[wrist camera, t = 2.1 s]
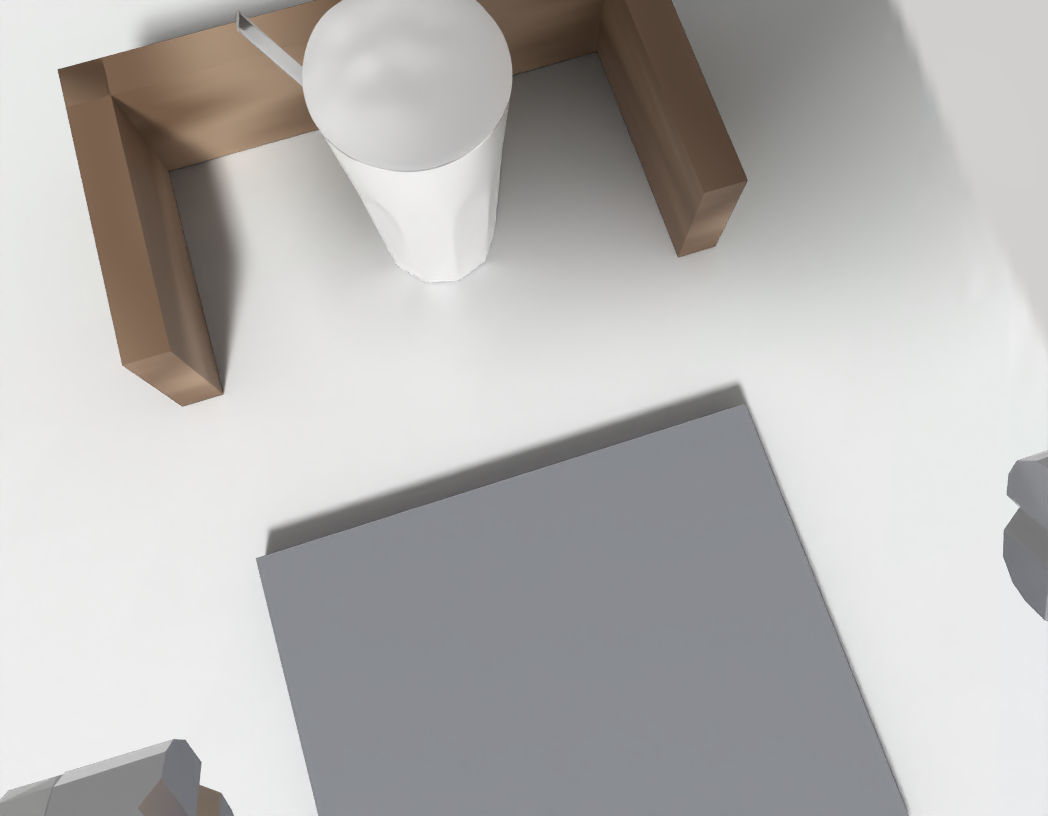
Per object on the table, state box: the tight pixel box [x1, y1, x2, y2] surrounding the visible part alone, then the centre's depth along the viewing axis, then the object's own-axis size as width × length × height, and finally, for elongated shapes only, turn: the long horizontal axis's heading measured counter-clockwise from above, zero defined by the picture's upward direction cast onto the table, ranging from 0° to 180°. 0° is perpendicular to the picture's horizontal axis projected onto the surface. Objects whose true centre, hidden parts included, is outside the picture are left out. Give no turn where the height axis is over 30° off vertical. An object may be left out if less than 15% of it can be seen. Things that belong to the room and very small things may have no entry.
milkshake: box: [236, 0, 512, 283], centre depth 22 cm, size 5×5×10 cm
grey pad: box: [256, 404, 908, 816], centre depth 23 cm, size 14×12×1 cm
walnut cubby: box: [58, 0, 748, 407], centre depth 25 cm, size 16×9×4 cm, turn 108°
